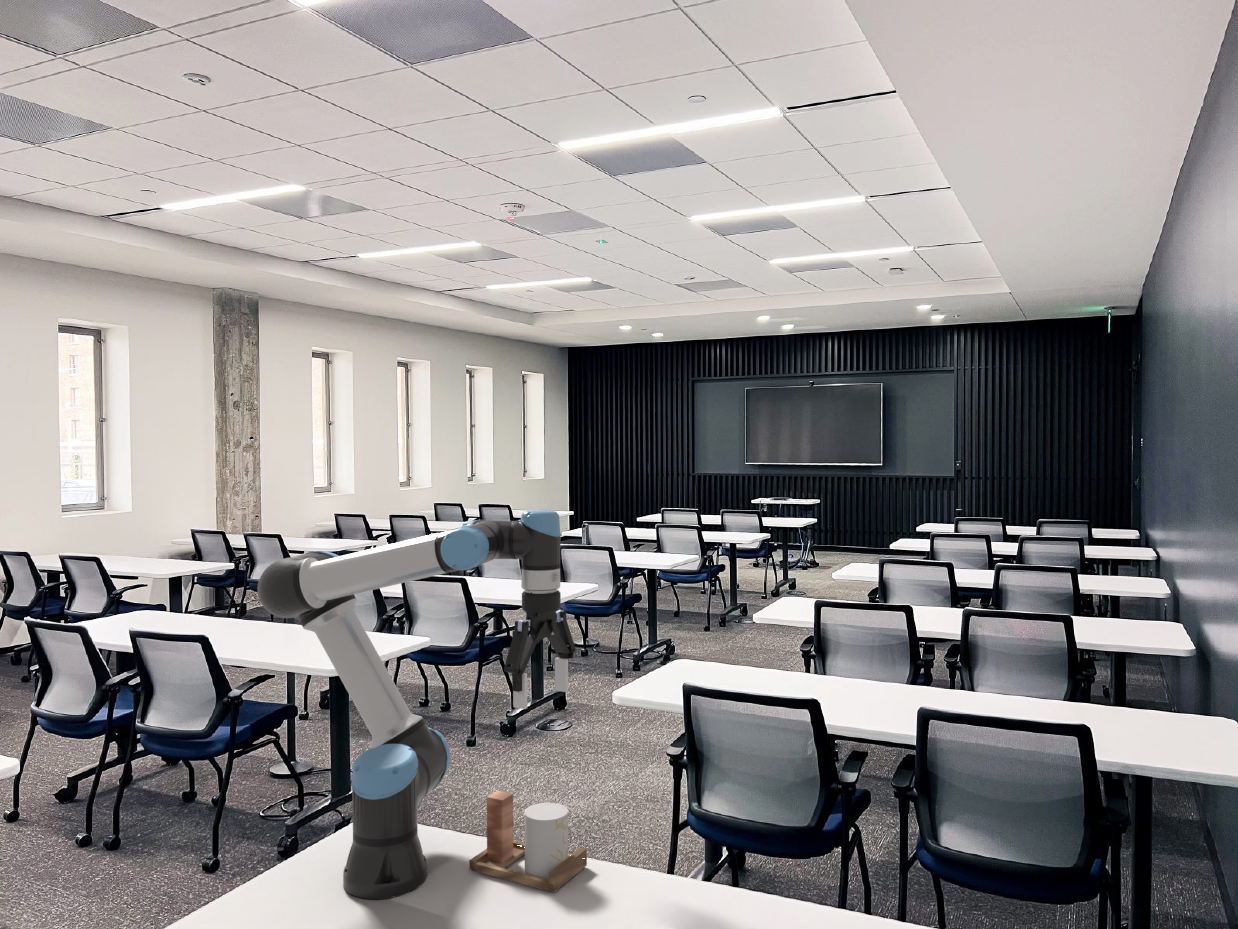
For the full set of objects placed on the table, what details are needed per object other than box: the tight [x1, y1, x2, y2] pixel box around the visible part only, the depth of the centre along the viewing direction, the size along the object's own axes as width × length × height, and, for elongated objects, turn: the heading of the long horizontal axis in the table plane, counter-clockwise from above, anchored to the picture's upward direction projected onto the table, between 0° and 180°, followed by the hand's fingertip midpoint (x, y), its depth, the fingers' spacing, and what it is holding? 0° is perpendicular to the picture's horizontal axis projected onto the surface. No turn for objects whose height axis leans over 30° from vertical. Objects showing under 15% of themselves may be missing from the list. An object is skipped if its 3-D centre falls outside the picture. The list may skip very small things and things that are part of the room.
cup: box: [523, 802, 569, 880], centre depth 168 cm, size 8×8×12 cm
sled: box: [468, 790, 588, 893], centre depth 170 cm, size 19×12×13 cm, turn 62°
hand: (541, 699), depth 174 cm, fingers open, 13 cm apart
